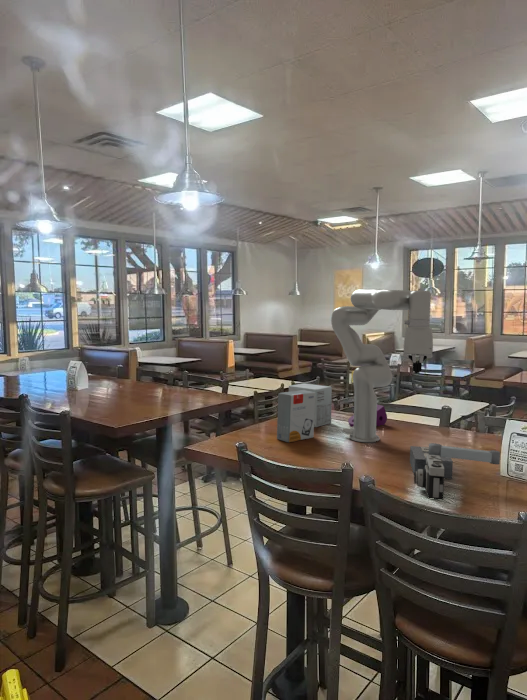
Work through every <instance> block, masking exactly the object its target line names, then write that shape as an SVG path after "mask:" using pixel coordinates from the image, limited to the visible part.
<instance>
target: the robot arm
mask: <svg viewBox="0 0 527 700" xmlns="http://www.w3.org/2000/svg"><path fill="white" fill-rule="evenodd" d="M431 299H432V297H431V292H430V291H429V290H407V289H406V290H405V289H401V290H400V289H383V288H360V289H355V290H354V291H353V292H352V294H351V295H350V303H351V304H352V306H351V305H350V306H349V305H345V306H339V307H337V308H335V309H334V310H333V311H332V314H331V320H330V321H331V328H332V330H333V333H334V334H335V335H336V337H337V339H338V340H339V342H340V345H341V348H342V349H343V352H344V354H345V357H346V358H347V360H348V363H349V364H350V365H351V366H353V367H356V368H355V369H354V370H353V373H352V383H353V384H352V385H353V394H354V398H353V402H354V403H353V407H354V408H353V415H354V426H353V427H350V428H345V427H344V428H342V433H344V434H346V435H348V434H349V439H350V440H351V441H355V442H359V443H376V441H377V442H378V441H380V436H379V435H377V426H376V418H377V405H378V397H377V393H376V392H375V390H374V389H375V388H384V387H387V386H389V385H390V384H391V383H392V381H393V374H392V369H391V367H390V366H389V363H388V361H387V359H386V357H385V354H384V352H383V351H382V349H381V348H380V347H379V346H378V345H376V344H373V343H369V344H368V343H363V342H362V340H361V338H360V336H359V334H358V333H357V332H356V330H355V329H353V328H352V327H351V326H364V325H367V324H368V323H370V322H371V320H372V319H373V318H374V317H375V315H376V314H377V313H378V312H379V311H380V310H389V311H408V319H407V320H404V325H407V326H408V327H406V328H405V333H404V337H403V338H404V340H403V353H402V357H404V358H407V359H410V361H411V362H412V371H413V372H414V374H420V373H421V372H422V366H423V365H422V363H423V362H424V361H426V360H427V359H432V358H433V351H434V347H433V345H434V344H433V343H434V341H433V340H434V339H433V338H434V337H433V329H432V328H431V327H430V324H431V323H430V320H431V318H430V317H431V301H432V300H431ZM416 356H419V357H418V360H417V358H416Z"/></svg>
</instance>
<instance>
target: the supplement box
mask: <svg viewBox="0 0 527 700" xmlns="http://www.w3.org/2000/svg"><path fill="white" fill-rule="evenodd" d="M332 387H333V386H330V385H329V386H327V385H321V384H312V383H297V384H292V385H291V384H290V385H288V392H292V391H300V390H306V391H311V392H315V412H314V428H318V427H322V426H325V425H329V424H332V405H333V404H332V403H333V402H332V400H333V398H332V397H333V396H332V395H333V393H332V391H333V388H332Z"/></svg>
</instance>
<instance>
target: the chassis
mask: <svg viewBox="0 0 527 700" xmlns="http://www.w3.org/2000/svg"><path fill="white" fill-rule="evenodd" d="M428 454H429V446H417V445H415V446H414V445H410V446H409V464H411V465H410V467H412V468H411V470H413V471H412V473H414V472H415V471H416V472H417V471H418V469H425V465H426V456H427V455H428ZM440 458H441V459H442V461H443V463H442V464H443V466H444V478H448V479H447V480H453V463H454V462H453V460H452V459H453V458H449V457H440Z"/></svg>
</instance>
